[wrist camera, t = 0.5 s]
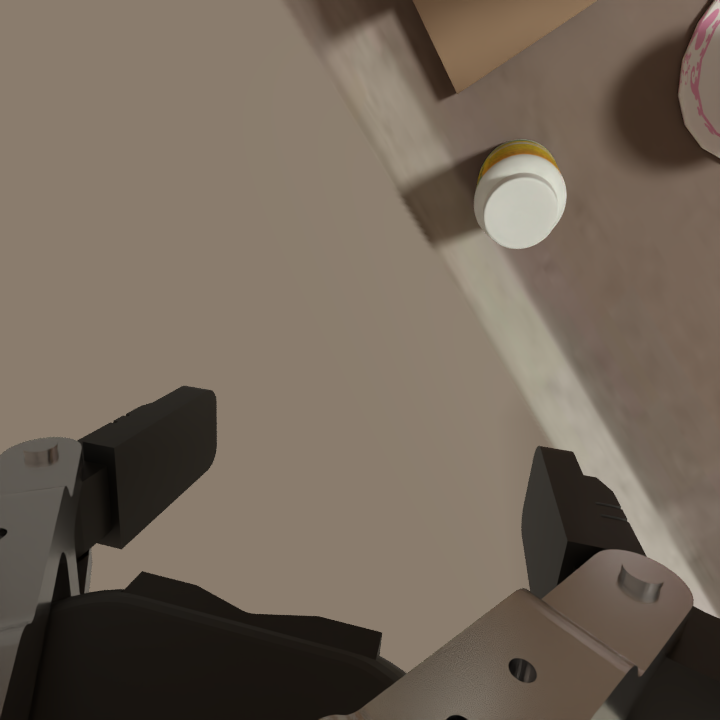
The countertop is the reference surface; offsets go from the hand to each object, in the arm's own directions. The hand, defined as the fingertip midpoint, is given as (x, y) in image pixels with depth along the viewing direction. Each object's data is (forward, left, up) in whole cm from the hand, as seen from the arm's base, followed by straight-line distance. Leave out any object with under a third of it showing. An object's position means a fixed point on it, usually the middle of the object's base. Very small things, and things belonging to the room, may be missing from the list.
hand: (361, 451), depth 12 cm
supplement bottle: (+2, +4, -29) cm, 30 cm away
